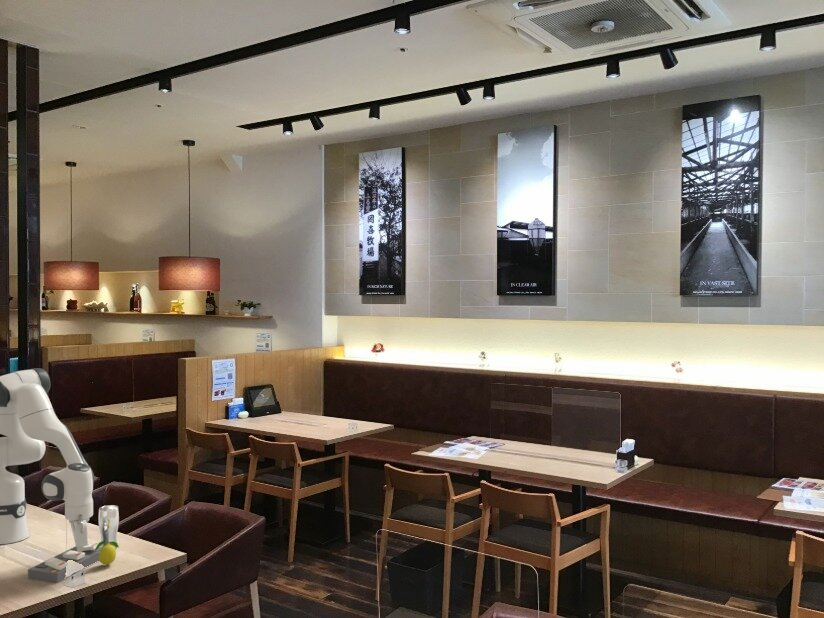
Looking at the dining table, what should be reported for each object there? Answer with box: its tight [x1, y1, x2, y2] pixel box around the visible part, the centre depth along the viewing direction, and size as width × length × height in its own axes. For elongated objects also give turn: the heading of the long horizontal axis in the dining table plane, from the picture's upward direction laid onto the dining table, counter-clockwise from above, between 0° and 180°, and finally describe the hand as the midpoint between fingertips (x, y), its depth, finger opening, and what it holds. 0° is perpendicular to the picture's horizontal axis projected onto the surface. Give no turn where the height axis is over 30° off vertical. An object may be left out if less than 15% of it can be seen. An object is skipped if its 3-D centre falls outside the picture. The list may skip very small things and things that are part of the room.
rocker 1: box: [45, 556, 68, 570], centre depth 246 cm, size 6×4×1 cm, turn 74°
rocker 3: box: [83, 542, 100, 551], centre depth 262 cm, size 6×4×1 cm, turn 73°
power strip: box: [27, 545, 102, 584], centre depth 255 cm, size 12×24×3 cm, turn 163°
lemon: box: [95, 537, 119, 566], centre depth 256 cm, size 7×6×10 cm
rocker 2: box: [63, 550, 85, 560], centre depth 254 cm, size 6×4×1 cm, turn 74°
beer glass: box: [98, 504, 120, 550], centre depth 272 cm, size 7×7×15 cm
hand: (79, 550), depth 254 cm, fingers closed
